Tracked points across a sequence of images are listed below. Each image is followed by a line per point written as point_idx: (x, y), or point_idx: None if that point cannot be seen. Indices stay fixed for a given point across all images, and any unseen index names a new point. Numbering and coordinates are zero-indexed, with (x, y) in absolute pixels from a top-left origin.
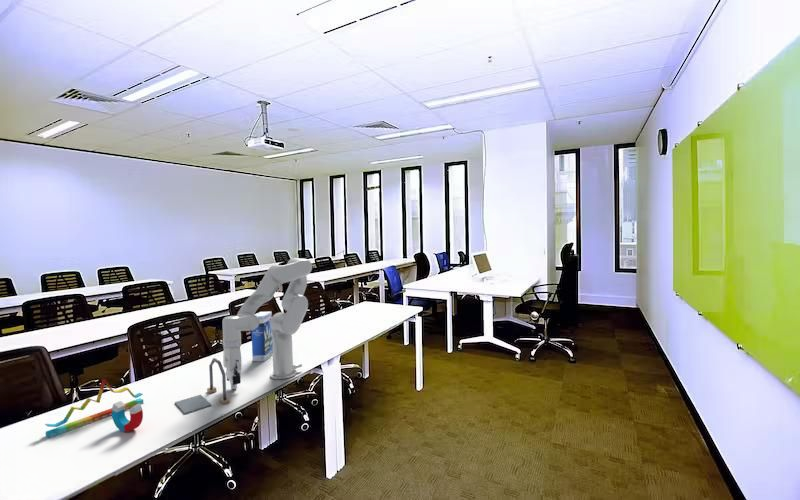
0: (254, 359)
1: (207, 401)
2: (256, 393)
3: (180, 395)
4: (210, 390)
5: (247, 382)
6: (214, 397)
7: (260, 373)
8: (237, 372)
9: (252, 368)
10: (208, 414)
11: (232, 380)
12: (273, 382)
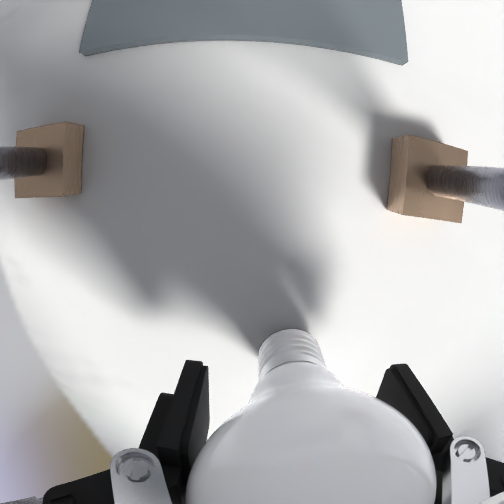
0: None
1: (167, 32)
2: (73, 391)
3: (497, 21)
4: (405, 147)
5: None
6: (248, 125)
7: None
8: (46, 500)
9: None
10: (5, 35)
11: (252, 399)
12: None
